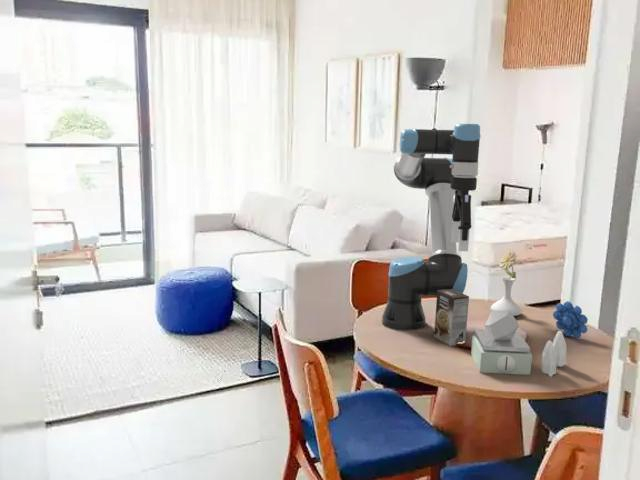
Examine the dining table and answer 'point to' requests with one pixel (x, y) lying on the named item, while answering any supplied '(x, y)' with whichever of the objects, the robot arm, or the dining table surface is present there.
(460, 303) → the coffee box
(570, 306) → the grapes
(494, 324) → the die
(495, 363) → the block
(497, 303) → the flower in vase
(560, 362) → the salt and pepper shakers
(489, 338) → the pan
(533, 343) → the dining table surface
